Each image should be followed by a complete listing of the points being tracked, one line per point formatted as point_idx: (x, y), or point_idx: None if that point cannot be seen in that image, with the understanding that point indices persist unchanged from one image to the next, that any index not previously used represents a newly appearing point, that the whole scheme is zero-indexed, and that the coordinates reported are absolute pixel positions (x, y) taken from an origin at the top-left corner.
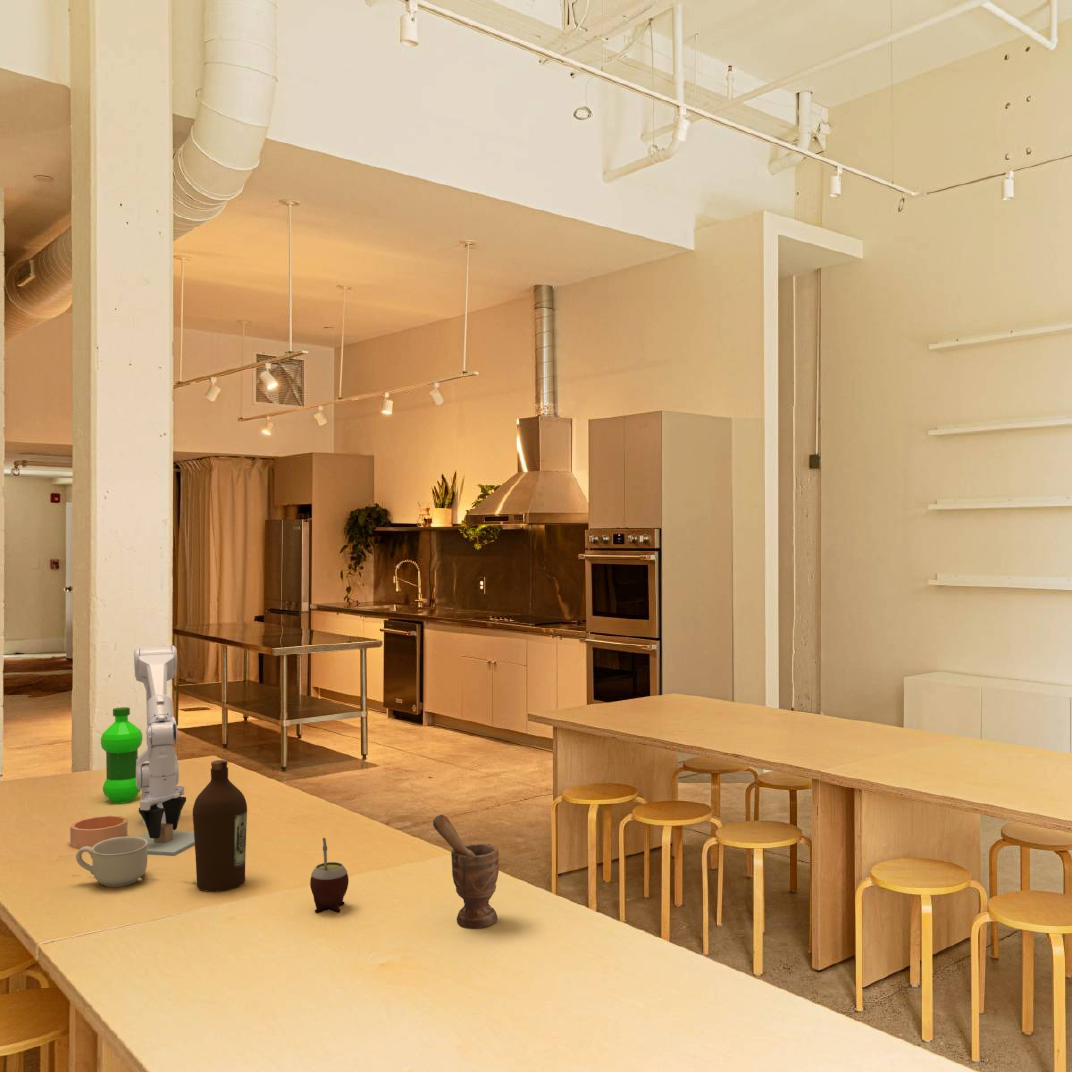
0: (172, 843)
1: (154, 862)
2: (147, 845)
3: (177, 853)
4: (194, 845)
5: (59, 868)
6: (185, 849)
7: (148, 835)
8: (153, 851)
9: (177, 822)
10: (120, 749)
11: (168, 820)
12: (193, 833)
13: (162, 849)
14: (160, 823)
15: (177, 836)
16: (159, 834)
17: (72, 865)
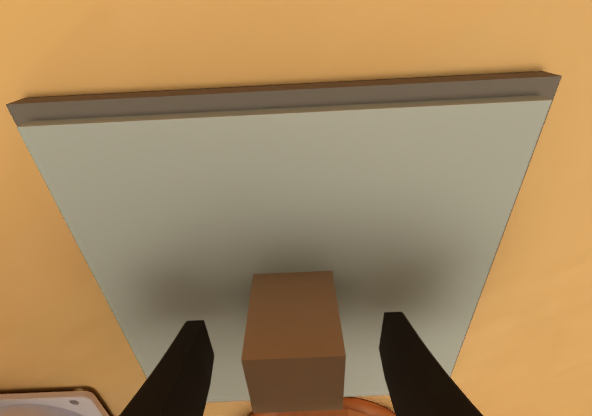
0: (336, 230)
1: (581, 165)
2: None
3: (500, 91)
4: (284, 89)
5: (579, 411)
6: (397, 93)
7: (238, 385)
8: (497, 242)
9: (173, 358)
10: None
11: (195, 411)
12: (100, 234)
13: (467, 215)
14: (436, 405)
15: (198, 280)
16: (399, 327)
17: (551, 401)
